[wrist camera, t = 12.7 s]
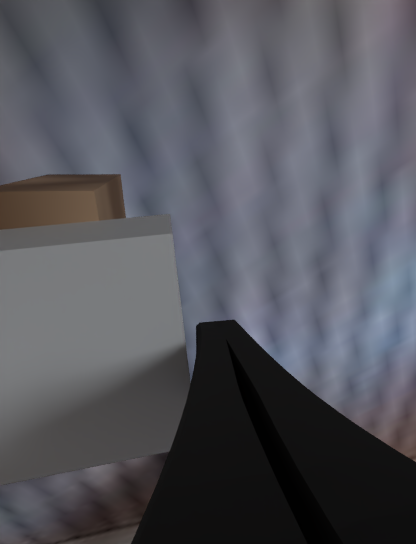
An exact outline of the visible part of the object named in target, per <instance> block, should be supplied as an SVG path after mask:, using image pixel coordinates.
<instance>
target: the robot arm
mask: <svg viewBox="0 0 416 544" xmlns="http://www.w3.org/2000/svg"><path fill="white" fill-rule="evenodd" d="M131 544H416V462H415V461H413V460H411V459H410V458H408V457H406V456H405V455H403V454H401V453H400V452H398V451H397V450H395V449H393V448H392V447H390V446H389V445H387V444H386V443H384V442H382V441H381V440H379V439H378V438H376V437H375V436H373V435H372V434H370V433H369V432H367V431H365V430H364V429H362V428H361V427H359V426H358V425H356V424H355V423H353V422H352V421H351V420H349V419H348V418H346V417H345V416H343V415H342V414H341V413H339V412H338V411H336V410H335V409H334V408H332V407H331V406H330V405H328V404H327V403H326V402H324V401H323V400H322V399H320V398H319V397H317V396H316V395H315V394H314V393H312V392H311V391H310V390H309V389H307V388H306V387H305V386H304V385H302V384H301V383H300V382H299V381H298V380H297V379H295V378H294V377H293V376H292V375H291V374H290V373H288V372H287V371H286V370H285V369H284V368H283V367H282V366H281V365H280V364H278V363H277V362H276V361H275V360H274V359H273V358H272V357H271V356H270V355H269V354H268V353H267V352H266V351H265V350H264V349H263V348H262V347H261V346H260V345H259V344H258V343H257V342H256V341H255V340H254V339H253V338H252V337H251V336H250V335H249V334H248V333H247V332H246V331H245V330H244V329H243V328H242V327H241V326H240V325H239V324H238V323H237V322H236V321H235V320H226V321H214V322H202V323H199V324H198V325H197V326H196V360H195V366H194V371H193V376H192V380H191V384H190V388H189V392H188V396H187V400H186V403H185V407H184V410H183V413H182V417H181V420H180V423H179V426H178V429H177V432H176V435H175V438H174V441H173V443H172V446H171V449H170V451H169V454H168V457H167V459H166V462H165V465H164V468H163V470H162V473H161V475H160V478H159V480H158V483H157V485H156V488H155V490H154V492H153V495H152V497H151V499H150V502H149V504H148V506H147V508H146V511H145V513H144V515H143V518H142V520H141V522H140V525H139V527H138V529H137V532H136V534H135V536H134V538H133V541H132V543H131Z"/></svg>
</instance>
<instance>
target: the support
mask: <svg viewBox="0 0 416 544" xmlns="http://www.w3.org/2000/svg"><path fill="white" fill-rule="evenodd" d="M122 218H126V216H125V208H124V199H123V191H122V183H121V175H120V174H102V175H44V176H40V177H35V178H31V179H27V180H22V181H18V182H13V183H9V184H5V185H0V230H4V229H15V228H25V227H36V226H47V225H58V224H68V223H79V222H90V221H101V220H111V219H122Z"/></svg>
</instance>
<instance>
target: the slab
mask: <svg viewBox="0 0 416 544" xmlns="http://www.w3.org/2000/svg"><path fill="white" fill-rule="evenodd" d="M189 388H190V375H189V367H188V359H187V351H186V342H185V334H184V326H183V318H182V309H181V301H180V293H179V285H178V276H177V268H176V260H175V252H174V244H173V235H172V227H171V219H170V214H165V215H154V216H144V217H133V218H122V219H111V220H101V221H90V222H79V223H68V224H58V225H47V226H36V227H25V228H15V229H4V230H0V485H5V484H10V483H15V482H20V481H25V480H30V479H35V478H40V477H45V476H50V475H55V474H60V473H65V472H70V471H75V470H80V469H85V468H90V467H95V466H100V465H105V464H110V463H115V462H120V461H125V460H130V459H135V458H140V457H145V456H150V455H155V454H160V453H165V452H169V451H170V449H171V446H172V443H173V441H174V438H175V435H176V432H177V429H178V426H179V423H180V420H181V417H182V413H183V410H184V407H185V403H186V400H187V396H188V392H189Z"/></svg>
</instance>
